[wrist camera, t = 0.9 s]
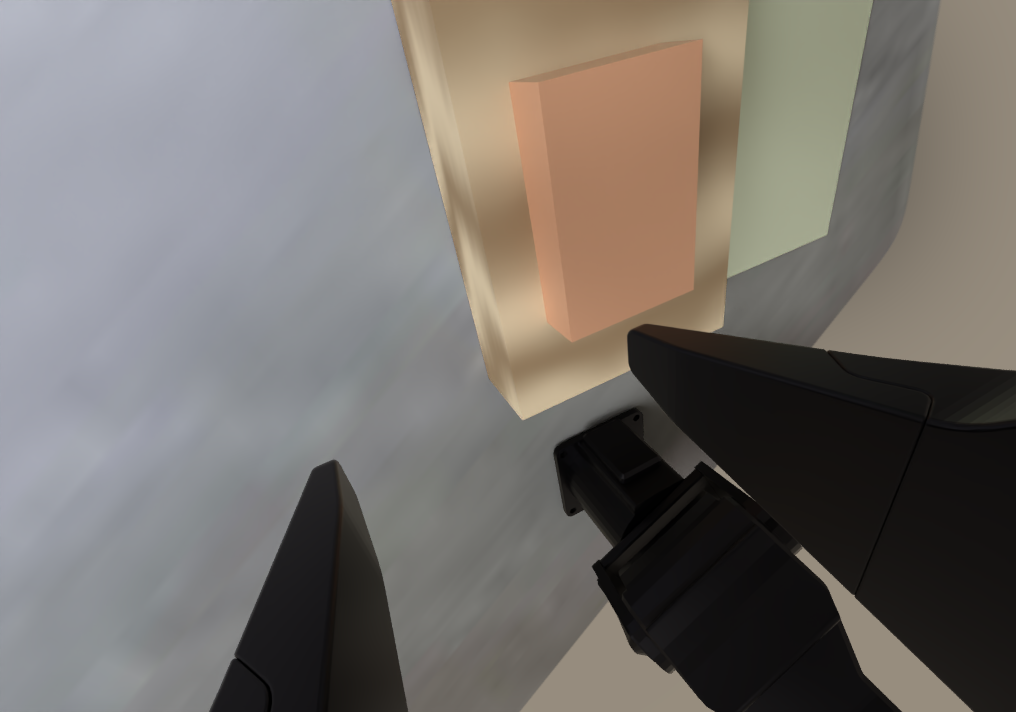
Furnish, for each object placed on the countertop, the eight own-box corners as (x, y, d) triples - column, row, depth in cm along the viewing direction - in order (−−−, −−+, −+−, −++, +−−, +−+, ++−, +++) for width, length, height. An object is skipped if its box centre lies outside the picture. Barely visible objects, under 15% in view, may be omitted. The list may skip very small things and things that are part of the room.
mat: (822, 233, 32) (827, 234, 32) (677, 296, 29) (681, 298, 29) (895, -145, 22) (902, -148, 22) (684, -112, 19) (690, -114, 19)
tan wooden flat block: (671, 299, 29) (723, 326, 26) (489, 378, 26) (522, 420, 22) (674, -110, 19) (760, -149, 15) (375, -62, 16) (407, -98, 12)
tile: (661, 274, 22) (693, 290, 20) (546, 322, 20) (571, 342, 19) (660, 42, 17) (702, 39, 15) (508, 82, 15) (538, 82, 14)
